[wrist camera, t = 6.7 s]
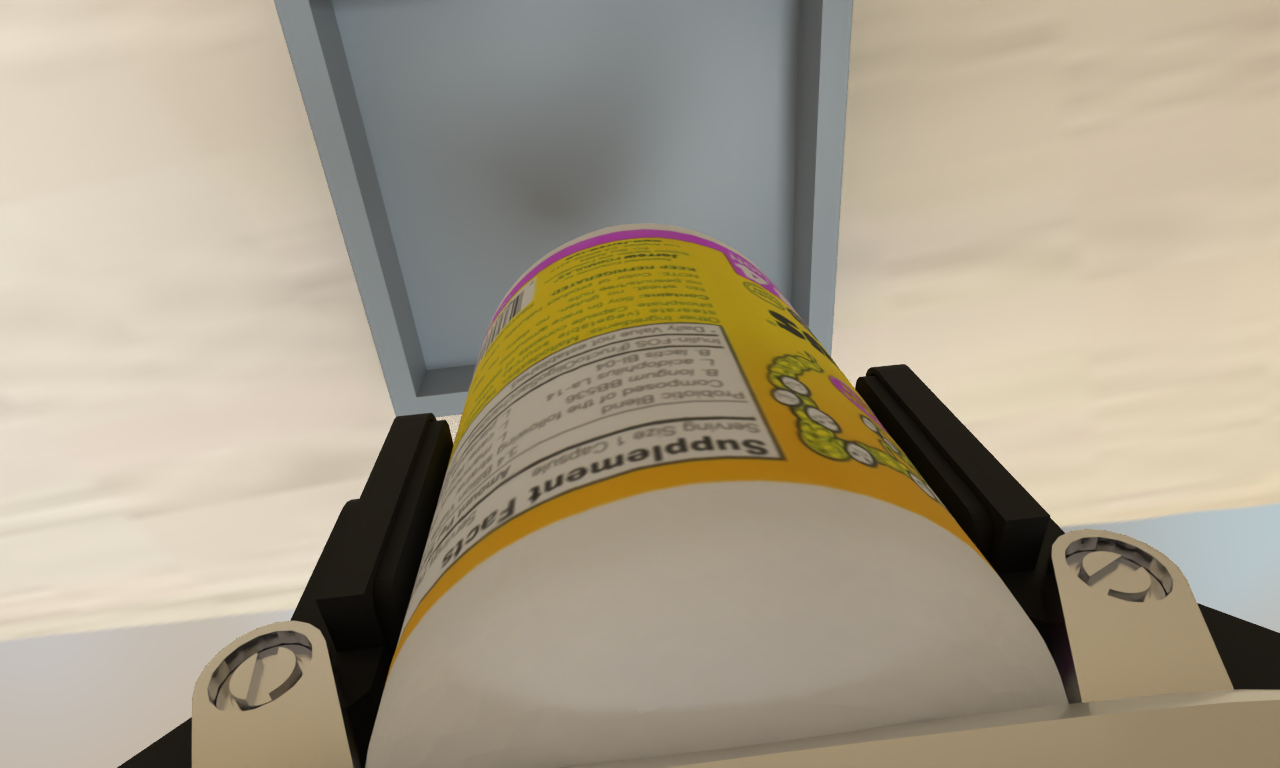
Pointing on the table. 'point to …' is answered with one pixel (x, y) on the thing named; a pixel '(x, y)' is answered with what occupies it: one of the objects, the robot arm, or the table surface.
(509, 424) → the supplement bottle
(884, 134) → the table surface
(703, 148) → the tray
